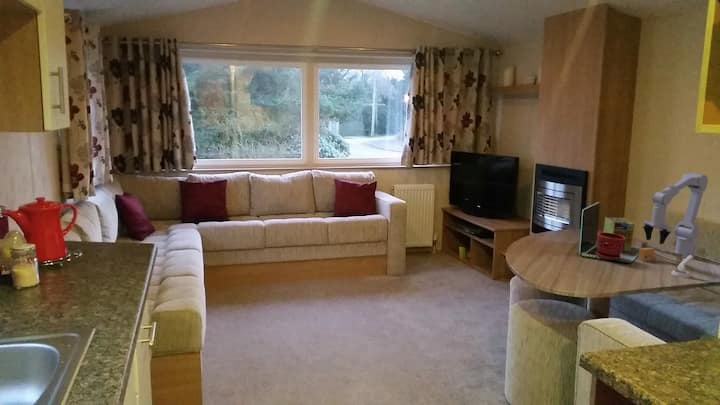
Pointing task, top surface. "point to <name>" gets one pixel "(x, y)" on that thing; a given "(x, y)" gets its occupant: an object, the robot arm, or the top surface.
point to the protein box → (620, 229)
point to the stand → (665, 258)
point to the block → (646, 253)
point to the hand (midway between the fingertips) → (654, 241)
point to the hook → (682, 268)
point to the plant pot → (610, 245)
